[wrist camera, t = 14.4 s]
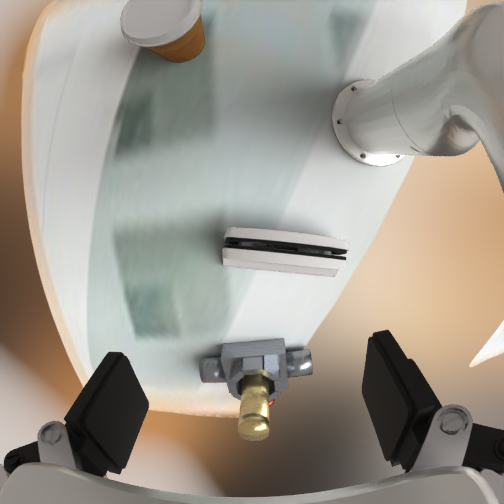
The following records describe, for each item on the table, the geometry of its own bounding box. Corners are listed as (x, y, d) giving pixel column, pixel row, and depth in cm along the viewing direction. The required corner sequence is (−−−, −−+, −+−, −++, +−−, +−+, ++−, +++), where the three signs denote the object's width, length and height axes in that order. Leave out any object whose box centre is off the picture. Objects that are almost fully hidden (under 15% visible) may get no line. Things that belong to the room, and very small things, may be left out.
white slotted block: (221, 265, 41) (212, 266, 31) (224, 232, 41) (217, 223, 31) (334, 276, 41) (358, 281, 31) (337, 244, 41) (362, 240, 31)
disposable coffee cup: (146, 72, 32) (107, 46, 21) (160, 20, 29) (130, -17, 18) (209, 73, 32) (188, 40, 21) (222, 19, 30) (208, -25, 18)
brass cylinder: (267, 364, 41) (267, 423, 30) (269, 382, 43) (270, 440, 31) (242, 366, 42) (235, 425, 30) (245, 384, 43) (240, 441, 31)
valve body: (308, 335, 44) (314, 362, 38) (309, 384, 48) (314, 411, 41) (200, 344, 45) (192, 371, 39) (214, 392, 49) (209, 419, 42)
